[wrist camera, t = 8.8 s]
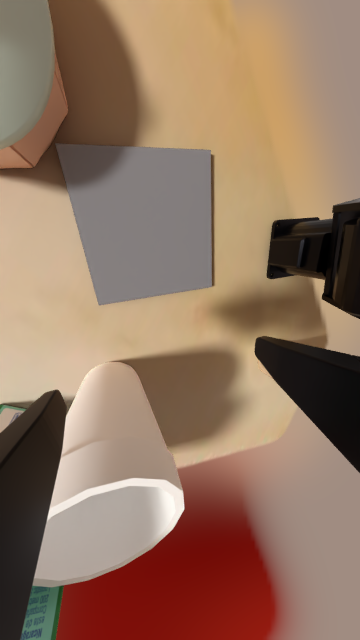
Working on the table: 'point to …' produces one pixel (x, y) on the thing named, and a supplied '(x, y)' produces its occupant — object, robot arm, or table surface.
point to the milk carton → (43, 600)
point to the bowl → (38, 130)
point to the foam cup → (108, 482)
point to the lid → (24, 66)
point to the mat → (141, 217)
